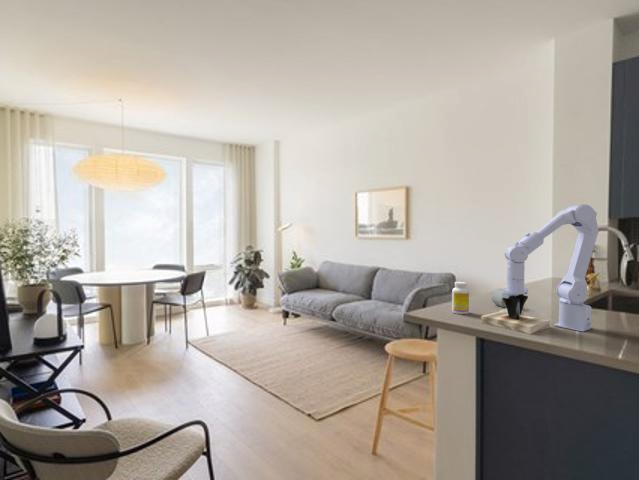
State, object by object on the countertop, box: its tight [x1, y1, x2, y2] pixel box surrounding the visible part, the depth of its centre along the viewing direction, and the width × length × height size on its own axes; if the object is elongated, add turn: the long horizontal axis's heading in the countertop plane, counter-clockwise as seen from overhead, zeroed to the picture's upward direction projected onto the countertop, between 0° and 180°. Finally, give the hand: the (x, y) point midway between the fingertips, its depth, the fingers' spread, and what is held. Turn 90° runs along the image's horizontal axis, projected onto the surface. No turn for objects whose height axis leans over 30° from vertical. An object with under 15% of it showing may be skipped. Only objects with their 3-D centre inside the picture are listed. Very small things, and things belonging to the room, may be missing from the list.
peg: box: [509, 300, 520, 320], centre depth 138 cm, size 4×4×7 cm
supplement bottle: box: [451, 281, 470, 315], centre depth 157 cm, size 7×7×13 cm
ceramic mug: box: [491, 288, 507, 309], centre depth 168 cm, size 11×8×8 cm
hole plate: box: [480, 311, 550, 335], centre depth 138 cm, size 18×14×3 cm
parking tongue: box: [497, 308, 525, 316], centre depth 151 cm, size 7×7×2 cm
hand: (514, 315), depth 138 cm, fingers closed on peg, 4 cm apart
